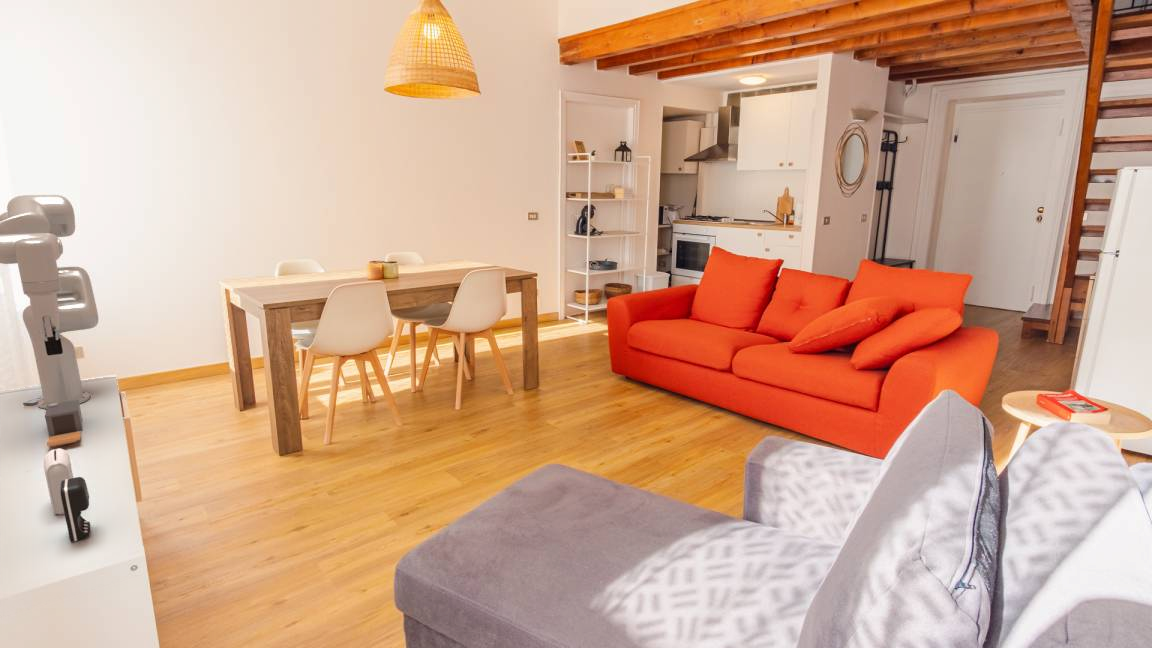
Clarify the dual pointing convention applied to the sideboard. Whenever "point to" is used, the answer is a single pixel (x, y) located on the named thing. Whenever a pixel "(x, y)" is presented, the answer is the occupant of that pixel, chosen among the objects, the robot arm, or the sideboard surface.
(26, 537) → the sideboard surface
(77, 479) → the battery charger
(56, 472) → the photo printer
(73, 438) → the side door
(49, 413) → the camera housing
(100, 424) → the sideboard surface
